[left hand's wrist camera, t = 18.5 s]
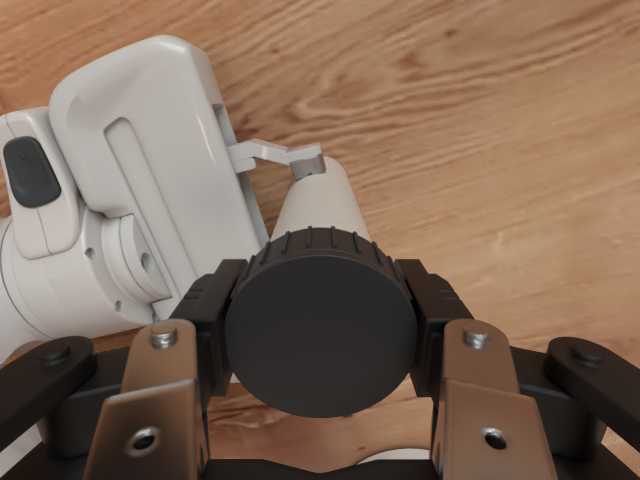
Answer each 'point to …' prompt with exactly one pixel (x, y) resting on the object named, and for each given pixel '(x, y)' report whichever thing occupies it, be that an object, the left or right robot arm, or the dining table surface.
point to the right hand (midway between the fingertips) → (335, 201)
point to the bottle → (321, 203)
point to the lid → (320, 324)
